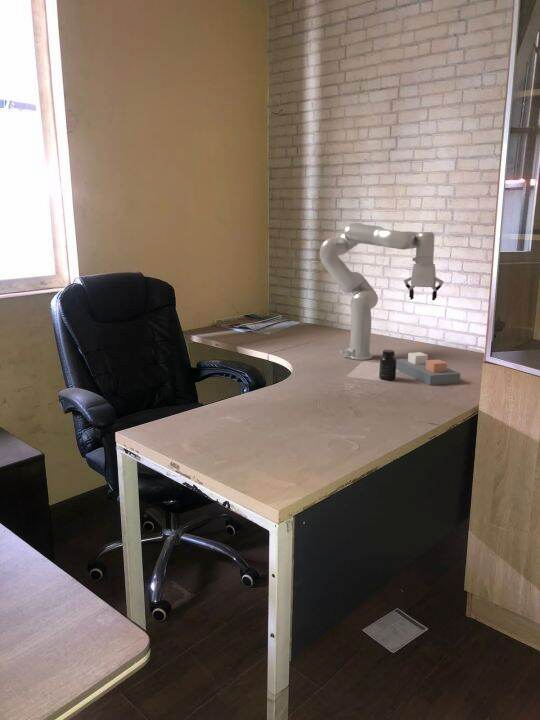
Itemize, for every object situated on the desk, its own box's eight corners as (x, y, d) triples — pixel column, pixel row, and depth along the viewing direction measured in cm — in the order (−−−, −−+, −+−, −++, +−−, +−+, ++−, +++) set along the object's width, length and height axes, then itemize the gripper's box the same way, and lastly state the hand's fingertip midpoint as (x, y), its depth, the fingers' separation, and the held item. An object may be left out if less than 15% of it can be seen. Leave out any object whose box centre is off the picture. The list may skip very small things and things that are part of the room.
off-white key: (414, 367, 250) (415, 356, 249) (407, 364, 255) (408, 352, 254) (427, 366, 252) (427, 355, 250) (419, 363, 257) (420, 352, 256)
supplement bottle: (385, 375, 246) (386, 348, 243) (398, 379, 241) (400, 351, 238) (375, 378, 241) (377, 350, 238) (389, 382, 236) (391, 353, 233)
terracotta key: (433, 375, 237) (434, 363, 236) (425, 372, 242) (426, 360, 241) (445, 374, 239) (446, 362, 237) (437, 371, 244) (438, 359, 243)
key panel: (429, 385, 233) (430, 375, 232) (394, 368, 258) (395, 359, 257) (459, 382, 237) (460, 373, 236) (422, 366, 263) (422, 357, 262)
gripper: (402, 261, 255) (401, 299, 259) (443, 261, 247) (440, 301, 251) (407, 260, 261) (405, 297, 265) (446, 260, 254) (444, 299, 258)
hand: (422, 299), depth 258 cm, fingers open, 9 cm apart
